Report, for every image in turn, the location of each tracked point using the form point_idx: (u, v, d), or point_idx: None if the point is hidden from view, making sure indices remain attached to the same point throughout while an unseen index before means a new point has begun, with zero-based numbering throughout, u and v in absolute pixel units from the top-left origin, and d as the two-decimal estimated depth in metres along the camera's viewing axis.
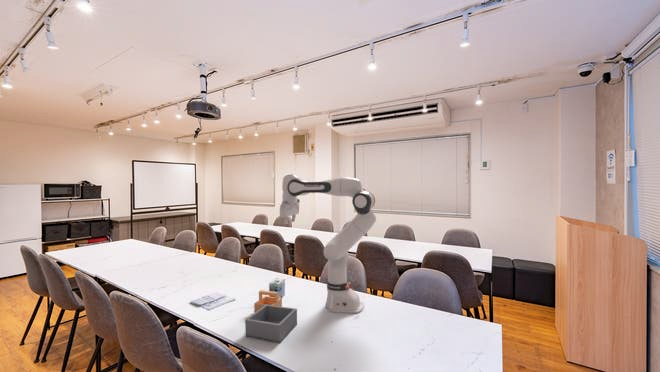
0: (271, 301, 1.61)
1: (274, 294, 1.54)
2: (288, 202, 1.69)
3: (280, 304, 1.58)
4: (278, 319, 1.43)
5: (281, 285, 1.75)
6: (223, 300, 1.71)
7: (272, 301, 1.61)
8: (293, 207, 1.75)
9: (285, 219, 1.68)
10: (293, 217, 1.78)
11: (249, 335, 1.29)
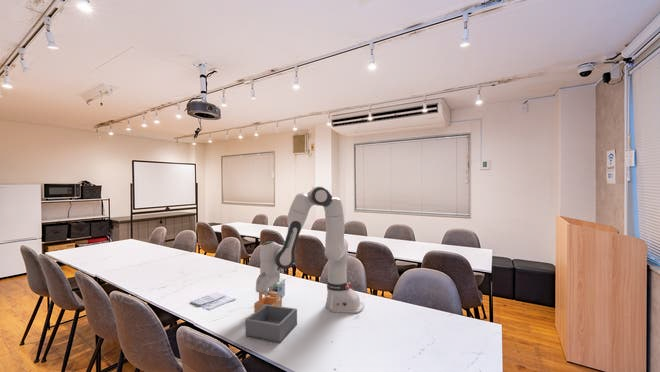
0: (271, 301, 1.61)
1: (274, 294, 1.54)
2: (266, 274, 1.52)
3: (280, 304, 1.58)
4: (278, 319, 1.43)
5: (281, 285, 1.75)
6: (223, 300, 1.71)
7: (272, 301, 1.61)
8: (272, 277, 1.58)
9: (265, 292, 1.54)
10: (270, 288, 1.59)
11: (249, 335, 1.29)
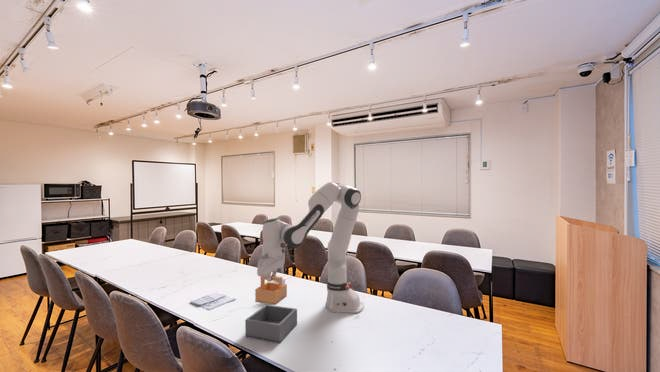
0: (274, 288, 1.41)
1: (278, 279, 1.34)
2: (269, 256, 1.32)
3: (285, 291, 1.38)
4: (278, 319, 1.43)
5: None
6: (223, 300, 1.71)
7: (276, 288, 1.41)
8: (276, 260, 1.38)
9: (268, 276, 1.33)
10: (274, 273, 1.39)
11: (249, 335, 1.29)
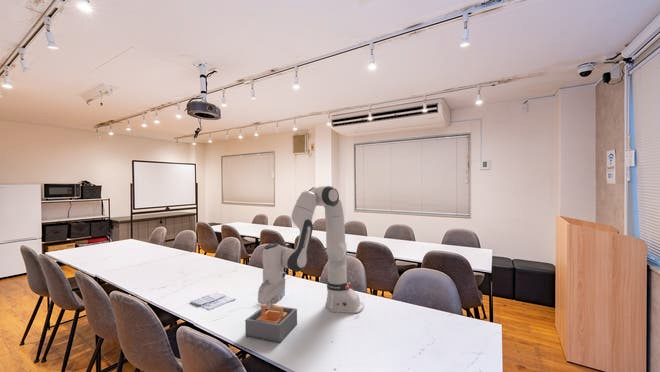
0: (275, 316, 1.40)
1: (279, 309, 1.33)
2: (270, 282, 1.31)
3: None
4: None
5: None
6: (223, 300, 1.71)
7: (276, 316, 1.40)
8: (277, 285, 1.37)
9: (268, 303, 1.31)
10: (275, 297, 1.39)
11: (249, 335, 1.29)
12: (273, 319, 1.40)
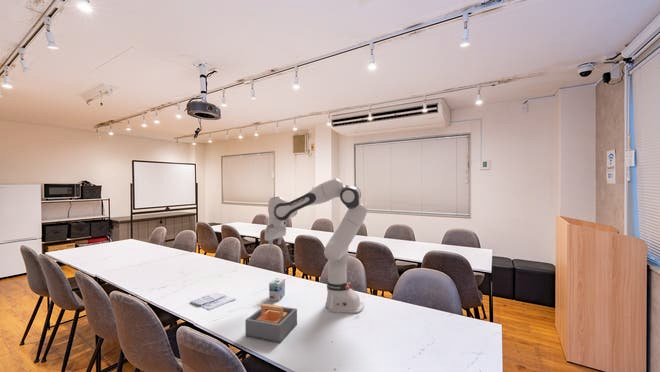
0: (275, 316, 1.40)
1: (279, 309, 1.33)
2: (273, 225, 1.67)
3: None
4: None
5: (281, 285, 1.75)
6: (223, 300, 1.71)
7: (276, 316, 1.40)
8: (279, 229, 1.73)
9: (270, 243, 1.65)
10: (279, 239, 1.76)
11: (249, 335, 1.29)
12: (273, 319, 1.40)
